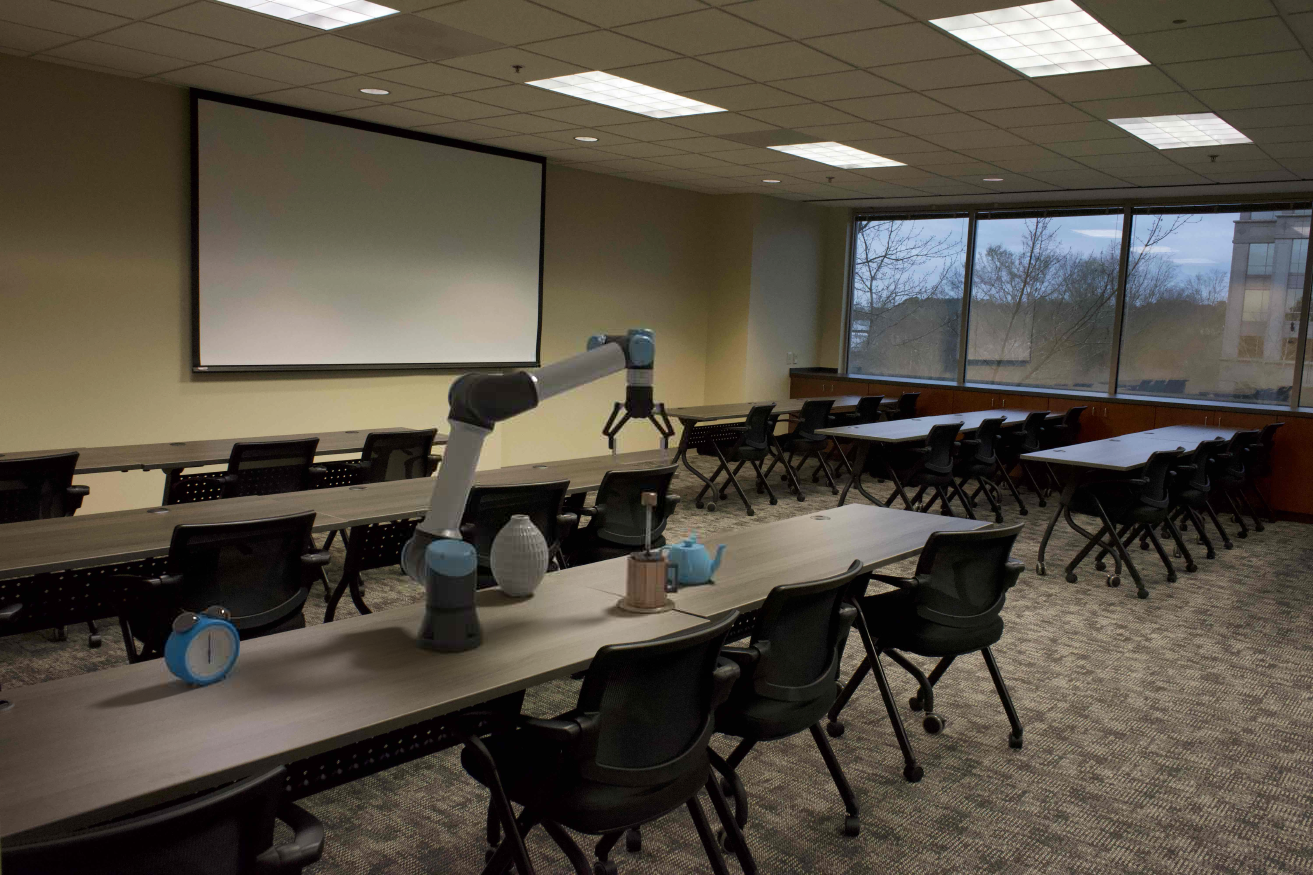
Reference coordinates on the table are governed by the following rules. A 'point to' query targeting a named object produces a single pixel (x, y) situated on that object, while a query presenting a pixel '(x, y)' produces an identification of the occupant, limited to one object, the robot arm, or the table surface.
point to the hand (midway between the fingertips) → (638, 461)
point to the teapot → (692, 561)
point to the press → (648, 584)
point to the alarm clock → (202, 646)
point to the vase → (519, 557)
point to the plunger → (648, 517)
